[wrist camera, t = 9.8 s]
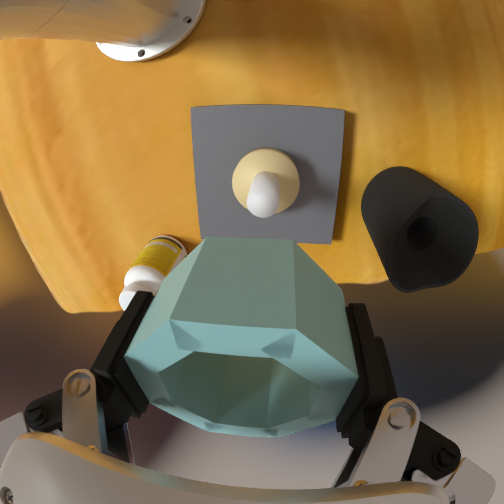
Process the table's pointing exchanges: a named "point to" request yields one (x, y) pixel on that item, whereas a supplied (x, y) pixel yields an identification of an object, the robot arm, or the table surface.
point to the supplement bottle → (152, 267)
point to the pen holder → (418, 229)
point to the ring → (246, 340)
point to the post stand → (267, 170)
